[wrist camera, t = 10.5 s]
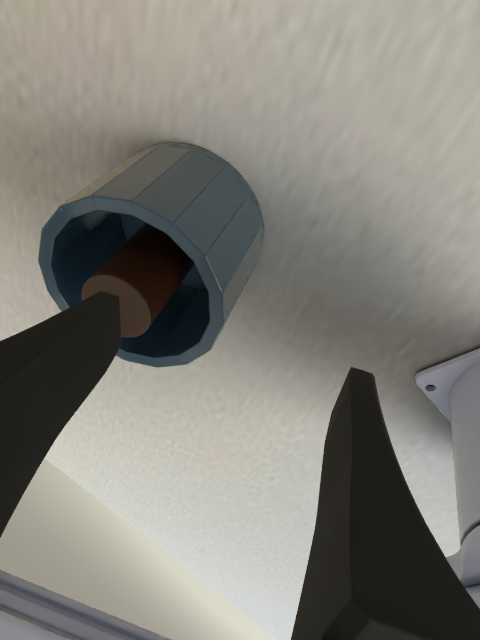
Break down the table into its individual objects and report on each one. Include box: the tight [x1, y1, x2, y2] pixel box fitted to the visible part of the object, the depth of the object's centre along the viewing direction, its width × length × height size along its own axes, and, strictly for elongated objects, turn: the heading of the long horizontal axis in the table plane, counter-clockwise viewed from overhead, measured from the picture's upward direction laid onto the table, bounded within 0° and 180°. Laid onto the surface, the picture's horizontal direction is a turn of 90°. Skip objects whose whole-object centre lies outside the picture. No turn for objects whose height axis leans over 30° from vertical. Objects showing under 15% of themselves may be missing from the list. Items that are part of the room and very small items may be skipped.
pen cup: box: [38, 143, 264, 367], centre depth 21 cm, size 8×8×6 cm
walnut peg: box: [82, 223, 194, 337], centre depth 21 cm, size 3×3×7 cm
